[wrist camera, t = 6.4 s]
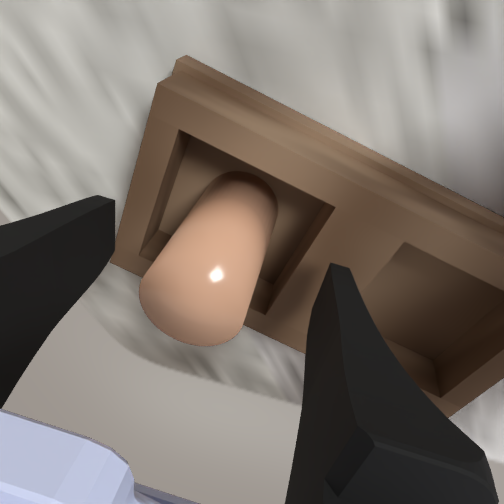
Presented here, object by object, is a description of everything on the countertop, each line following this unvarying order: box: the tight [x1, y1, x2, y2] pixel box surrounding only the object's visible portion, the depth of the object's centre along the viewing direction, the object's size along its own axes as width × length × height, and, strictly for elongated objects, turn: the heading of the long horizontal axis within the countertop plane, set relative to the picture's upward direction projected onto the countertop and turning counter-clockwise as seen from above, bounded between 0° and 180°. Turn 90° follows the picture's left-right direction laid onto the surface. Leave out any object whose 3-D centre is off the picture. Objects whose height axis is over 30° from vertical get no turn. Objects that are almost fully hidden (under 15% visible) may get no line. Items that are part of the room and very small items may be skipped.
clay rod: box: [139, 171, 278, 346], centre depth 14 cm, size 3×3×6 cm
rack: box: [110, 55, 504, 418], centre depth 16 cm, size 16×8×3 cm, turn 66°
